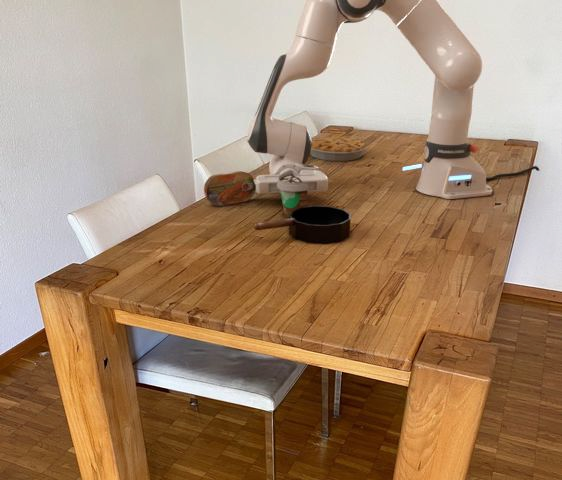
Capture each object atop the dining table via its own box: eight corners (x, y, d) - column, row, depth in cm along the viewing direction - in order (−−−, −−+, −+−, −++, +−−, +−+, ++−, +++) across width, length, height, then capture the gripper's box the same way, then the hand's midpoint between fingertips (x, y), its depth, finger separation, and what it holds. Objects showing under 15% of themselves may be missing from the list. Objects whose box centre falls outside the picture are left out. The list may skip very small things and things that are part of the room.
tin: (207, 208, 163) (205, 177, 158) (203, 205, 165) (201, 174, 160) (256, 200, 168) (255, 170, 164) (251, 197, 171) (251, 168, 166)
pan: (332, 219, 155) (333, 202, 152) (360, 238, 143) (361, 220, 141) (244, 232, 147) (243, 213, 144) (265, 253, 135) (265, 233, 133)
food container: (274, 211, 161) (270, 174, 156) (295, 206, 163) (291, 170, 157) (288, 225, 152) (284, 186, 146) (310, 220, 153) (307, 181, 147)
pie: (376, 152, 218) (377, 138, 215) (349, 165, 202) (350, 150, 199) (325, 145, 227) (325, 131, 225) (295, 156, 212) (296, 142, 209)
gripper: (251, 168, 165) (256, 181, 154) (322, 165, 168) (332, 178, 156) (252, 190, 169) (257, 205, 157) (321, 187, 171) (331, 202, 160)
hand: (295, 191), depth 157 cm, fingers closed, pressing on food container
